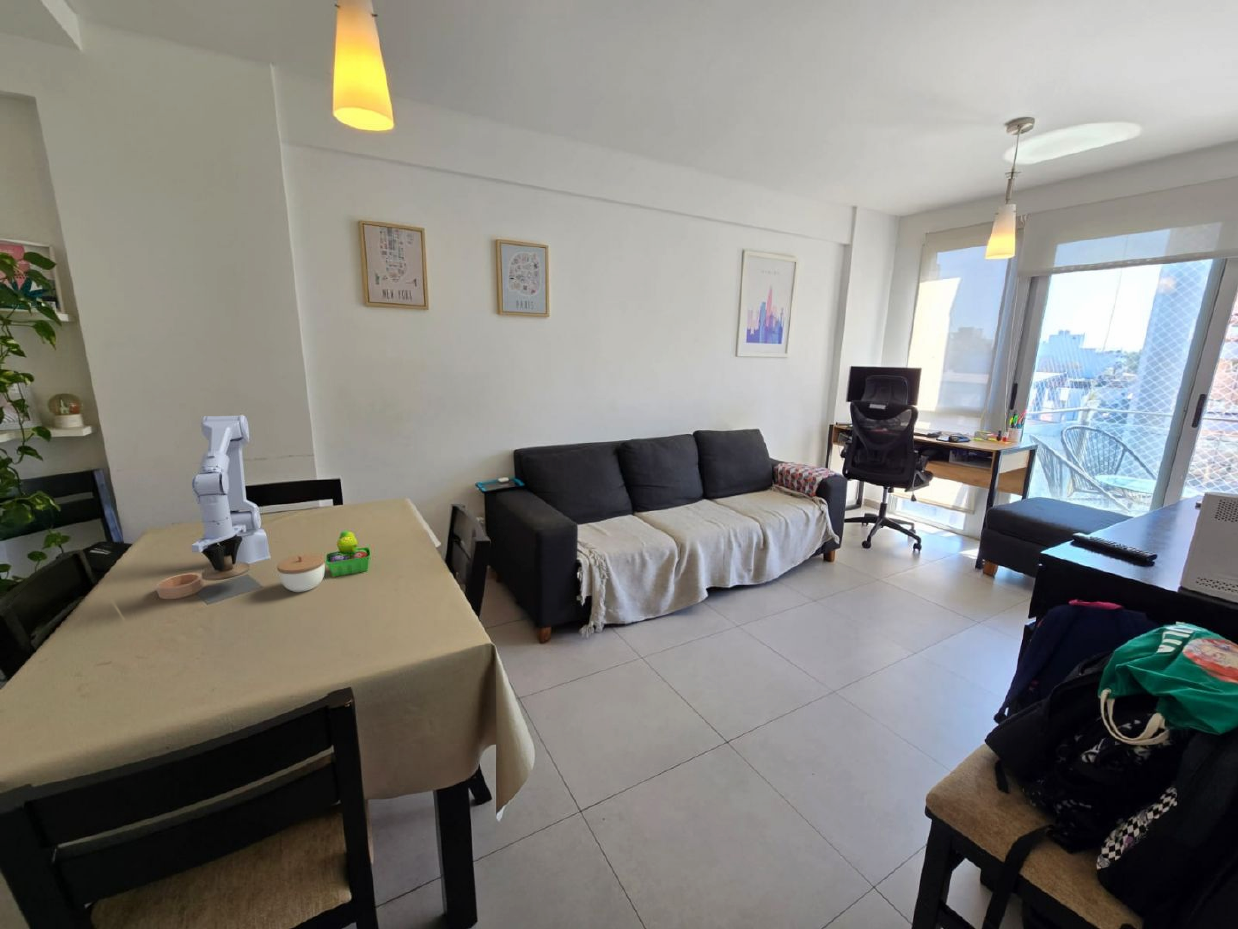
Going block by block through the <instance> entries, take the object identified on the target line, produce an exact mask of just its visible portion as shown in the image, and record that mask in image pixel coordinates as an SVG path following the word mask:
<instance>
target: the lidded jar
mask: <svg viewBox="0 0 1238 929" xmlns="http://www.w3.org/2000/svg"><path fill="white" fill-rule="evenodd" d="M325 566H326V558H325V556H323V555H322V554H319V553H304V554H298V555H294V556H291V557H288V558H285V559H283V560H282V561H280V562H278V564H277V566H276V567H277V571H278V576H279V580H280V582H281V585H283V586H284V588H286V589H287V590H288V591H292V592H295V593H303V592H309V591H311V590H313V589H315V588H317V587H318V585H320V584H321V582H322V581H323V579H324V577H325V573H326V572H325V571H326V569H325V568H326V567H325Z"/></svg>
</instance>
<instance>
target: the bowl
mask: <svg viewBox="0 0 1238 929" xmlns="http://www.w3.org/2000/svg"><path fill="white" fill-rule="evenodd" d="M201 574H202V573H197V572H188V573H183V574H182V573H181V574H177V575H173V576H170V577H168V578H165V579H162V580H160V581H159V582H158V583H157V584H156V585H155V587H156V591H157V595H158V597H159V598H160V599H163V600H175V599H181V598H185V597H188V596H190V595H191V596H192V595H193V594H197V593H196V592H198V591H199V590H201V589H202V588H203V587H205V580H204V579H202V575H201Z"/></svg>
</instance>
